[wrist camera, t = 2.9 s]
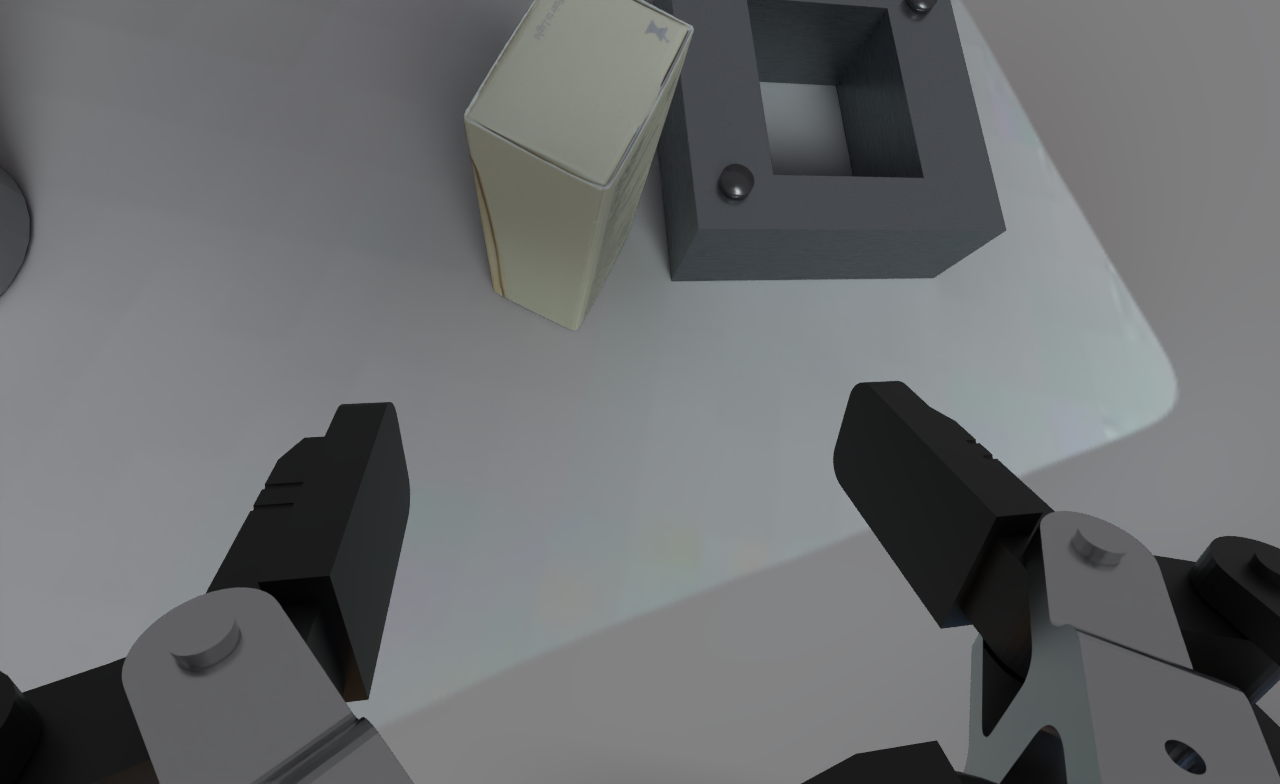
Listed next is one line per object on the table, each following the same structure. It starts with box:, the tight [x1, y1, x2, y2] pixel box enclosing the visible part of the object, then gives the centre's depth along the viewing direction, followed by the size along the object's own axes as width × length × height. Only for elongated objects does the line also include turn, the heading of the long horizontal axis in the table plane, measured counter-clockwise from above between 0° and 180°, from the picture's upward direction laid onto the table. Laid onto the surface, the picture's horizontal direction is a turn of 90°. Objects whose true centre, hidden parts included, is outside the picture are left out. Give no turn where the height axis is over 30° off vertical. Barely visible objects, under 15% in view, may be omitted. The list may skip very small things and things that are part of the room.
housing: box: [653, 0, 1006, 281], centre depth 29 cm, size 14×14×5 cm
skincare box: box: [463, 0, 694, 331], centre depth 22 cm, size 6×4×12 cm
